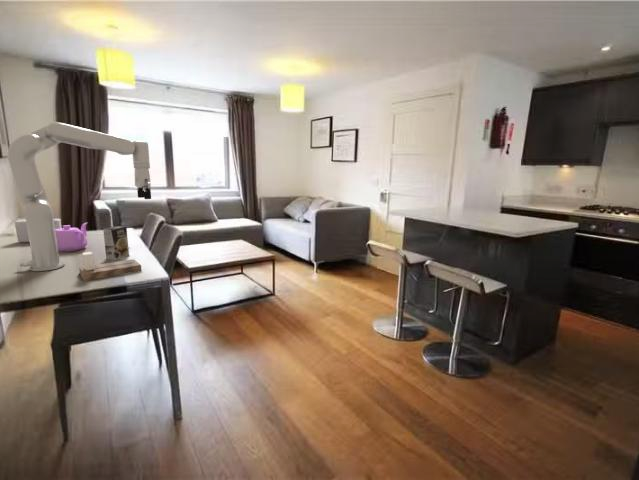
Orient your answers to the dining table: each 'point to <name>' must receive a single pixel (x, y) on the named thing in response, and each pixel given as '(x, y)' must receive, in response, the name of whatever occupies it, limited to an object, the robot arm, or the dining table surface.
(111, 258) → the coffee box
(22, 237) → the stereo radio cassette player
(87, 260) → the white rectangular block
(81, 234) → the teapot
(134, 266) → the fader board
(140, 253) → the dining table surface
